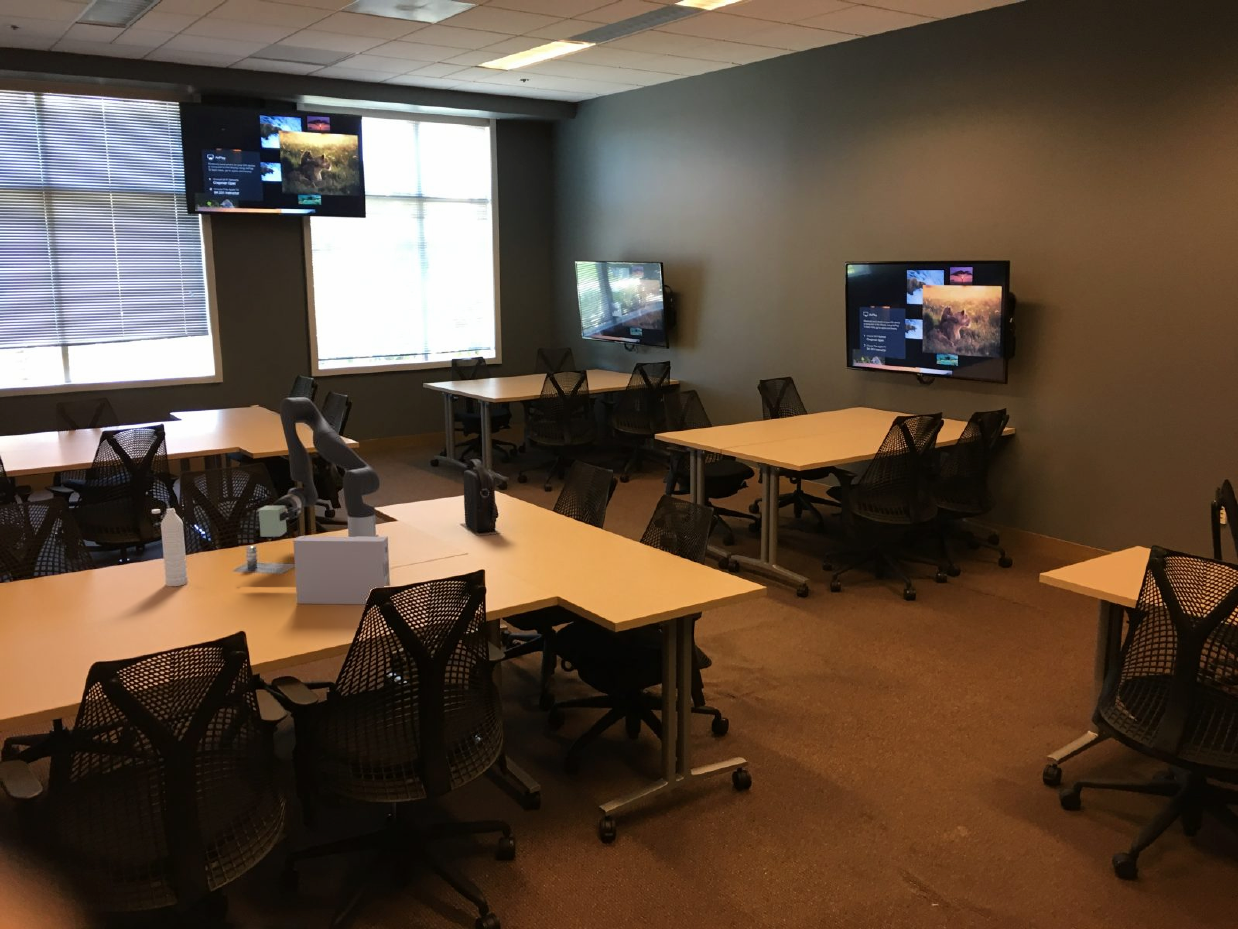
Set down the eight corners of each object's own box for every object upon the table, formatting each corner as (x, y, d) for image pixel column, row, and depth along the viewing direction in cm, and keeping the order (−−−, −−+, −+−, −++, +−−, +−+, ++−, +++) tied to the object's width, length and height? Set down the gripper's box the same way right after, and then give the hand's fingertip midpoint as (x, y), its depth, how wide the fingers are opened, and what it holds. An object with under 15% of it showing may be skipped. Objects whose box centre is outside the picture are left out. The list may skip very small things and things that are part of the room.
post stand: (298, 568, 336) (296, 544, 335) (281, 578, 326) (279, 553, 324) (249, 566, 340) (247, 542, 338) (231, 575, 329) (229, 550, 327)
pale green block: (286, 531, 332) (284, 505, 331) (280, 536, 326) (278, 509, 325) (267, 531, 333) (265, 505, 331) (260, 536, 326) (258, 509, 325)
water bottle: (187, 579, 324) (181, 505, 319) (188, 585, 318) (182, 509, 314) (158, 583, 320) (151, 508, 316) (158, 588, 314) (151, 512, 310)
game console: (303, 598, 306) (299, 535, 302) (390, 599, 305) (388, 536, 301) (296, 604, 300) (292, 540, 296) (385, 605, 299) (383, 541, 295)
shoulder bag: (458, 524, 399) (456, 455, 394) (479, 521, 403) (478, 453, 398) (478, 536, 379) (476, 464, 374) (500, 533, 384) (499, 462, 378)
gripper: (265, 496, 342) (247, 507, 325) (307, 496, 342) (291, 506, 325) (267, 517, 343) (249, 529, 327) (308, 517, 343) (292, 529, 327)
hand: (270, 518), depth 326 cm, fingers closed on pale green block, 6 cm apart
